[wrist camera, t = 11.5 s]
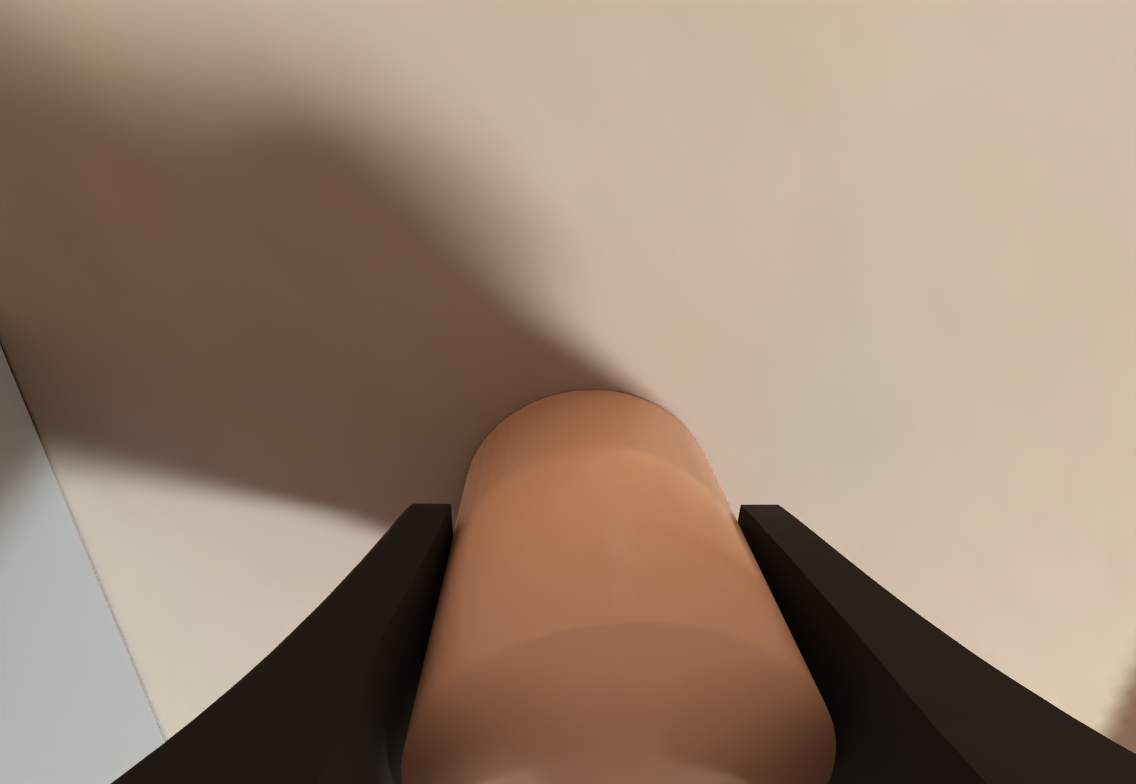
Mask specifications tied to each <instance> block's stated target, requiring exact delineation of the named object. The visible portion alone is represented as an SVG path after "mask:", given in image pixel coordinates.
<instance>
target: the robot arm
mask: <svg viewBox="0 0 1136 784" xmlns="http://www.w3.org/2000/svg"><path fill="white" fill-rule="evenodd" d="M738 524H739V526H740V528H741V531H742V533H743V535H744V537H745V539H746V541H747V543H748V545H749V547H750V549H751V551H752V553H753V555H754V557H755V560H756V562H757V564H758V566H759V568H760V570H761V572H762V574H763V576H764V578H765V580H766V582H767V584H768V586H769V589H770V591H771V593H772V595H773V597H774V599H775V601H776V603H777V605H778V607H779V609H780V611H781V613H782V615H783V617H784V620H785V622H786V624H787V626H788V628H789V630H790V632H791V634H792V636H793V638H794V640H795V642H796V644H797V646H798V649H799V651H800V653H801V655H802V657H803V659H804V661H805V663H806V665H807V667H808V669H809V671H810V673H811V675H812V678H813V680H814V682H815V684H816V686H817V688H818V690H819V692H820V694H821V696H822V698H823V700H824V702H825V704H826V707H827V709H828V712H829V714H830V717H831V719H832V722H833V726H834V731H835V737H836V756H835V763H834V767H833V771H832V775H831V778H830V780H829V782H828V784H1136V754H1135V753H1133V752H1131V751H1129V750H1127V749H1126V748H1124V747H1122V746H1120V745H1119V744H1117V743H1115V742H1113V741H1112V740H1110V739H1108V738H1107V737H1105V736H1103V735H1102V734H1100V733H1098V732H1096V731H1095V730H1093V729H1091V728H1090V727H1088V726H1086V725H1085V724H1083V723H1081V722H1080V721H1078V720H1076V719H1075V718H1073V717H1071V716H1070V715H1068V714H1066V713H1065V712H1063V711H1062V710H1060V709H1059V708H1057V707H1055V706H1054V705H1052V704H1051V703H1049V702H1047V701H1046V700H1044V699H1043V698H1041V697H1040V696H1038V695H1036V694H1035V693H1033V692H1032V691H1030V690H1029V689H1027V688H1025V687H1024V686H1022V685H1021V684H1019V683H1017V682H1016V681H1014V680H1013V679H1011V678H1010V677H1008V676H1006V675H1005V674H1003V673H1002V672H1000V671H999V670H997V669H996V668H994V667H993V666H991V665H990V664H988V663H987V662H985V661H984V660H982V659H981V658H979V657H978V656H976V655H975V654H973V653H972V652H971V651H969V650H968V649H966V648H965V647H964V646H962V645H961V644H959V643H958V642H957V641H955V640H954V639H952V638H951V637H949V636H948V635H947V634H945V633H944V632H942V631H941V630H940V629H938V628H937V627H935V626H934V625H933V624H931V623H930V622H928V621H927V620H926V619H924V618H923V617H922V616H920V615H919V614H917V613H916V612H915V611H913V610H912V609H911V608H909V607H908V606H907V605H905V604H904V603H903V602H901V601H900V600H899V599H897V598H896V597H895V596H894V595H892V594H891V593H890V592H888V591H887V590H886V589H884V588H883V587H882V586H881V585H879V584H878V583H877V582H875V581H874V580H873V579H872V578H870V577H869V576H868V575H866V574H865V573H864V572H863V571H861V570H860V569H859V568H858V567H856V566H855V565H854V564H853V563H851V562H850V561H849V560H848V559H846V558H845V557H844V556H843V555H841V554H840V553H839V552H838V551H836V550H835V549H834V548H833V547H831V546H830V545H829V544H828V543H826V542H825V541H824V540H823V539H822V538H820V537H819V536H818V535H817V534H815V533H814V532H813V531H812V530H810V529H809V528H808V527H807V526H805V525H804V524H803V523H802V522H800V521H799V520H798V519H797V518H795V517H794V516H793V515H791V514H790V513H789V512H787V511H786V510H785V509H783V508H782V507H780V506H779V505H741V507H740V513H739V518H738ZM452 538H453V527H452V513H451V504H411V505H410V506H409V507H408V508H407V509H406V510H405V511H404V512H403V513H402V515H401V516H400V517H399V518H398V519H397V520H396V522H395V523H394V524H393V525H392V526H391V527H390V529H389V530H388V531H387V532H386V533H385V534H384V536H383V537H382V538H381V539H380V540H379V541H378V542H377V544H376V545H375V546H374V547H373V548H372V549H371V550H370V551H369V553H368V554H367V555H366V556H365V557H364V558H363V559H362V561H361V562H360V563H359V564H358V565H357V566H356V567H355V568H354V569H353V570H352V571H351V572H350V573H349V575H348V576H347V577H346V578H345V579H344V580H343V581H342V582H341V583H340V584H339V585H338V586H337V587H336V588H335V589H334V591H333V592H332V593H331V594H330V595H329V596H328V597H327V598H326V599H325V600H324V601H323V602H322V603H321V604H320V605H319V606H318V607H317V608H316V609H315V610H314V611H313V612H312V613H311V614H310V615H309V616H308V617H307V618H306V619H305V620H304V621H303V622H302V623H301V624H300V625H299V626H298V627H297V628H296V629H295V630H294V631H293V632H292V633H291V634H289V635H288V636H287V637H286V638H285V639H284V640H283V641H282V642H281V643H280V644H279V645H278V646H277V647H276V648H275V649H274V650H273V651H272V652H271V653H270V654H269V655H268V656H267V657H265V658H264V659H263V660H262V661H261V662H260V663H259V664H258V665H257V666H256V667H254V668H253V669H252V670H251V671H250V672H249V673H248V674H247V675H246V676H244V677H243V678H242V679H241V680H240V681H239V682H238V683H236V684H235V685H234V686H233V687H232V688H231V689H230V690H228V691H227V692H226V693H225V694H224V695H222V696H221V697H220V698H219V699H218V700H217V701H215V702H214V703H213V704H212V705H211V706H209V707H208V708H207V709H206V710H205V711H204V712H202V713H201V714H200V715H199V716H198V717H196V718H195V719H194V720H193V721H191V722H190V723H189V724H188V725H186V726H185V727H184V728H183V729H181V730H180V731H179V732H178V733H176V734H175V735H174V736H172V737H171V738H170V739H169V740H167V741H166V742H165V743H164V744H162V745H161V746H160V747H158V748H157V749H156V750H154V751H153V752H152V753H150V754H149V755H148V756H146V757H145V758H144V759H142V760H141V761H140V762H138V763H137V764H136V765H134V766H133V767H132V768H131V769H129V770H128V771H127V772H125V773H124V774H123V775H121V776H120V777H119V778H117V779H116V780H115V781H113V782H112V783H111V784H402V783H401V762H402V756H403V749H404V745H405V740H406V736H407V732H408V727H409V723H410V719H411V715H412V710H413V706H414V702H415V697H416V693H417V689H418V684H419V680H420V676H421V671H422V667H423V663H424V658H425V654H426V650H427V646H428V641H429V637H430V633H431V628H432V624H433V620H434V615H435V611H436V607H437V602H438V598H439V594H440V589H441V585H442V581H443V577H444V572H445V568H446V564H447V559H448V555H449V551H450V546H451V542H452Z"/></svg>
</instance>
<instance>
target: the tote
mask: <svg viewBox="0 0 1136 784" xmlns="http://www.w3.org/2000/svg"><path fill="white" fill-rule="evenodd" d="M164 743H165V740H164V738H163V735H162V733H161V730H160V728H159V725H158V723H157V721H156V718H155V716H154V713H153V711H152V709H151V706H150V704H149V701H148V699H147V697H146V694H145V692H144V689H143V687H142V685H141V682H140V680H139V677H138V675H137V673H136V670H135V668H134V665H133V663H132V661H131V658H130V656H129V653H128V651H127V649H126V646H125V644H124V641H123V639H122V637H121V634H120V632H119V629H118V627H117V624H116V622H115V620H114V617H113V615H112V612H111V610H110V608H109V605H108V603H107V600H106V598H105V596H104V593H103V591H102V588H101V586H100V584H99V581H98V579H97V576H96V574H95V572H94V569H93V567H92V564H91V562H90V560H89V557H88V555H87V552H86V550H85V548H84V545H83V543H82V540H81V538H80V536H79V533H78V531H77V528H76V526H75V524H74V521H73V519H72V516H71V514H70V511H69V509H68V507H67V504H66V502H65V499H64V497H63V495H62V492H61V490H60V487H59V485H58V483H57V480H56V478H55V475H54V473H53V471H52V468H51V466H50V463H49V461H48V459H47V456H46V454H45V451H44V449H43V447H42V444H41V442H40V439H39V437H38V435H37V432H36V430H35V427H34V425H33V423H32V420H31V418H30V415H29V413H28V410H27V408H26V406H25V403H24V401H23V398H22V396H21V394H20V391H19V389H18V386H17V384H16V382H15V379H14V377H13V374H12V372H11V370H10V367H9V365H8V362H7V360H6V358H5V355H4V353H3V350H2V348H1V346H0V784H111V783H112V782H113V781H115V780H116V779H117V778H119V777H120V776H121V775H123V774H124V773H125V772H127V771H128V770H129V769H131V768H132V767H133V766H134V765H136V764H137V763H138V762H140V761H141V760H142V759H144V758H145V757H146V756H148V755H149V754H150V753H152V752H153V751H154V750H156V749H157V748H158V747H160V746H161V745H162V744H164Z"/></svg>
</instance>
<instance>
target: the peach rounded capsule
mask: <svg viewBox="0 0 1136 784" xmlns="http://www.w3.org/2000/svg"><path fill="white" fill-rule="evenodd" d="M835 756H836V737H835V731H834V726H833V722H832V719H831V717H830V714H829V712H828V709H827V707H826V704H825V702H824V700H823V698H822V696H821V694H820V692H819V690H818V688H817V686H816V684H815V682H814V680H813V678H812V675H811V673H810V671H809V669H808V667H807V665H806V663H805V661H804V659H803V657H802V655H801V653H800V651H799V649H798V646H797V644H796V642H795V640H794V638H793V636H792V634H791V632H790V630H789V628H788V626H787V624H786V622H785V620H784V617H783V615H782V613H781V611H780V609H779V607H778V605H777V603H776V601H775V599H774V597H773V595H772V593H771V591H770V589H769V586H768V584H767V582H766V580H765V578H764V576H763V574H762V572H761V570H760V568H759V566H758V564H757V562H756V560H755V557H754V555H753V553H752V551H751V549H750V547H749V545H748V543H747V541H746V539H745V537H744V535H743V533H742V531H741V528H740V526H739V524H738V522H737V520H736V518H735V516H734V514H733V512H732V510H731V508H730V506H729V504H728V502H727V499H726V497H725V495H724V493H723V491H722V489H721V487H720V485H719V483H718V481H717V479H716V477H715V475H714V473H713V470H712V468H711V466H710V464H709V462H708V460H707V458H706V456H705V454H704V452H703V450H702V448H701V446H700V445H699V443H698V441H697V440H696V438H695V437H694V435H693V434H692V433H691V432H690V431H689V430H688V428H687V427H686V426H685V425H684V424H683V423H682V422H681V421H679V420H678V419H677V418H676V417H675V416H674V415H672V414H671V413H669V412H668V411H666V410H665V409H663V408H662V407H660V406H658V405H656V404H654V403H652V402H650V401H647V400H645V399H643V398H639V397H636V396H633V395H630V394H626V393H621V392H616V391H608V390H576V391H570V392H564V393H559V394H555V395H552V396H549V397H545V398H542V399H540V400H537V401H535V402H533V403H530V404H528V405H526V406H524V407H523V408H521V409H519V410H517V411H516V412H514V413H512V414H511V415H510V416H508V417H507V418H506V419H505V420H503V421H502V422H501V423H499V424H498V425H497V426H496V427H495V428H494V429H493V431H492V432H491V433H490V434H489V435H488V436H487V437H486V438H485V440H484V441H483V443H482V444H481V445H480V447H479V448H478V450H477V452H476V454H475V456H474V458H473V460H472V462H471V465H470V468H469V471H468V473H467V477H466V482H465V486H464V490H463V495H462V499H461V503H460V508H459V512H458V516H457V520H456V525H455V529H454V533H453V538H452V542H451V546H450V551H449V555H448V559H447V564H446V568H445V572H444V577H443V581H442V585H441V589H440V594H439V598H438V602H437V607H436V611H435V615H434V620H433V624H432V628H431V633H430V637H429V641H428V646H427V650H426V654H425V658H424V663H423V667H422V671H421V676H420V680H419V684H418V689H417V693H416V697H415V702H414V706H413V710H412V715H411V719H410V723H409V727H408V732H407V736H406V740H405V745H404V749H403V756H402V762H401V783H402V784H828V782H829V780H830V778H831V775H832V771H833V767H834V763H835Z"/></svg>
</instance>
